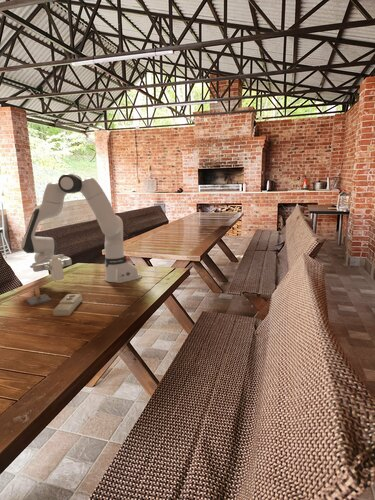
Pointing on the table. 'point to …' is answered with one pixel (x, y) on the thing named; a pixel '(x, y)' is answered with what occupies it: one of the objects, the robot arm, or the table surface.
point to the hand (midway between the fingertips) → (56, 266)
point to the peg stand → (38, 297)
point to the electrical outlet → (67, 304)
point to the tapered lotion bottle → (56, 268)
